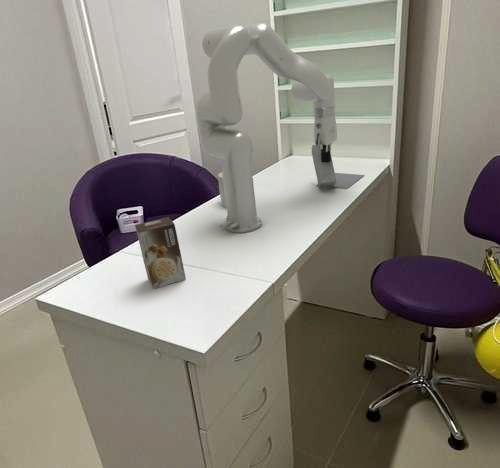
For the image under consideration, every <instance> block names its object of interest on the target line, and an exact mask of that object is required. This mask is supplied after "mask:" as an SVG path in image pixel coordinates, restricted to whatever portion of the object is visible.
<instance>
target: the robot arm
mask: <svg viewBox="0 0 500 468" xmlns="http://www.w3.org/2000/svg"><path fill="white" fill-rule="evenodd" d="M201 44H202V45H201V46H202V50H203V52H204V53H205V55H206V57H208V58H209V59H210V60H209V64H208V67H207V83H208V88H209V92H207V93H204V94H203V95H202V96H200V98H199V99H198V102H197V104H196V117H197V122H198V128H199V132H200V138H201V143H202V146H203V148H204V150H205V152H206V153H207V154H208V155H209V156H211V157H213V158H215V159H216V158H218V159H222V160H224V163H223V168H222V171H221V172H222V177H223V184H224V192H225V199H226V207H225V208H226V212H227V214H226V215H227V216H226V220H225V222H223V223H221V224H220V225H219V228H220V229H221V231H224V230H226V231H228V232H230V233H237V234H238V233H249V232H252V231H255V230H257V229H259V228H260V227H261V226H262V225H263V220H262V218H261V217H259V216H258V214H257V207H256V206H257V205H256V196H255V195H256V194H255V188H254V187H255V186H254V179H253V165H252V163H253V161H252V160H253V151H254V150H253V149H254V148H253V147H254V143H253V140H252V138H251V136H250V135H249V134H248V133H247V132H245V131H244V130H241V129H236V128H227V127H226V126H229V127H230V126H235V125H237V124H239V123H240V122H241V120H242V118H243V108H242V107H243V106H242V100H241V93H240V87H239V80H238V79H239V78H238V71H239V66H240V64H241V62H242V59H243V58H244V56H247V55H248V56H249V55H256V56H257V57H258V58H259V59H260V60H261V61H262V62H263V63H264V64H265V65H266V66H267V67H268V68H269V70H271V72H272V73H274V74H275V75H276V76H279V77H282V78H284V79H287V80H292V81H294V82H293V83H292V85H291V89H290V91H291V95H292V97H293V98H294V99H295V100H296V101H299V102H312V106H313V108H312V109H313V118H314V124H313V125H314V127H313V133H314V134H313V138H314V139H313V141H314V145H315V144H316V145H318V149H320V152H321V162H327V163H329V162H330V161H331V158H332V153H331V152H332V151H331V150H332V144H334V143H335V142H336V141H337V140H338V130H337V119H336V111H335V110H336V107H335V79H334V76H333V75H331V74H325V73H324V71H322V69H321V68H320V67H319V66H317V65H316V64H315V63H313V62H312V61H310V60H308V59H306V58H304V57H303V56H301V55H299V54H297V53H295V52H294V51H293V50H292V49H291V48H290V47H289V46H288V45H287V43H286V42H285V41H284V40H283V39H282V38H281V36H280V35H279V34H278V33H277V32H276V31H275V30H274V28H273V27H272V26H271V25H269V24H267V23H264V22H257V23H251V24H245V25H240V24H233V25H226V26H222V27H216V28H213V29H212V28H211V29H210V30H208V31H206V33H205V34H204V35H203V38H202V43H201Z"/></svg>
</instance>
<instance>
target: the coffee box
mask: <svg viewBox="0 0 500 468" xmlns="http://www.w3.org/2000/svg"><path fill="white" fill-rule="evenodd" d="M134 227H135V231H136V234H137V235H136V236H137V239H138V244H139V248H140V251H141V255H142V256H141V257H142V259H143V263H144V268H145V272H146V276H147V279H148V282H149V285H150V286H151V289H153V288H155V289H157V288H161V287H164V286H168V285H171V284H174V283H177V282H181V281H184V280H186V278H187V277H186V273H185V267H184V264H183V263H184V262H183V258H182V254H181V249H180V244H179V240H178V233H177V229H176V225H175V223H174V221H173V219H171V218H170V216H166V217H162V218H158V219H155V220H151V221H146V222H142V223H137V224H134Z"/></svg>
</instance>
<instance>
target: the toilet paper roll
mask: <svg viewBox="0 0 500 468" xmlns="http://www.w3.org/2000/svg"><path fill="white" fill-rule="evenodd" d="M222 172H223V171H221V172H219V173H218V174H217V179H218V190H219V196H220V202H221V205H222V207H224V208H227V207H226V199H225V192H224V184H223V177H222Z"/></svg>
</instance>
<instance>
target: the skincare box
mask: <svg viewBox="0 0 500 468" xmlns="http://www.w3.org/2000/svg"><path fill="white" fill-rule="evenodd" d="M310 149H311V156H312V160H313V166H314V170H315V174H316V175H315V176H316V179H317V185H318V186H317V187H318V188H319V189H320V188H321V189H323V188H328V187H327V186H333V185H335V183H336V176H335V173H336V172H335V168H334V164H333V160H332V158H333V157H331V161H330V162H329V163H327V162H321V152H320V149H318V145H316V144H315V143H314V144H312V146H311V148H310Z"/></svg>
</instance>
